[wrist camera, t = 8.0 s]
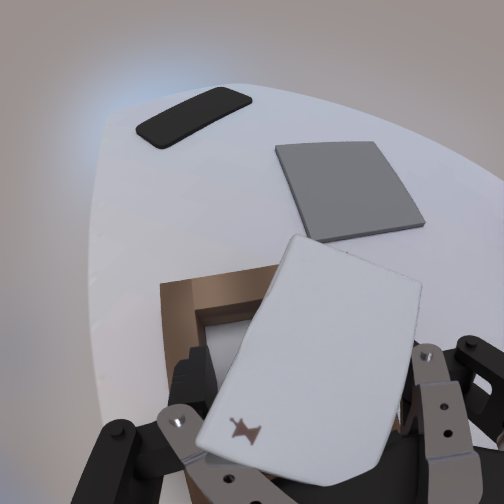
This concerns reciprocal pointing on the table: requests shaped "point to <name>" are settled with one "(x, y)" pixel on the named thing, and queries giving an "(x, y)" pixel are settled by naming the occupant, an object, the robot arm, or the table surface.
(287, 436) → the skincare box
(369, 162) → the rubber mat
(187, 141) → the table surface
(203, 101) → the phone
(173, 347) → the brown wooden rectangular frame
